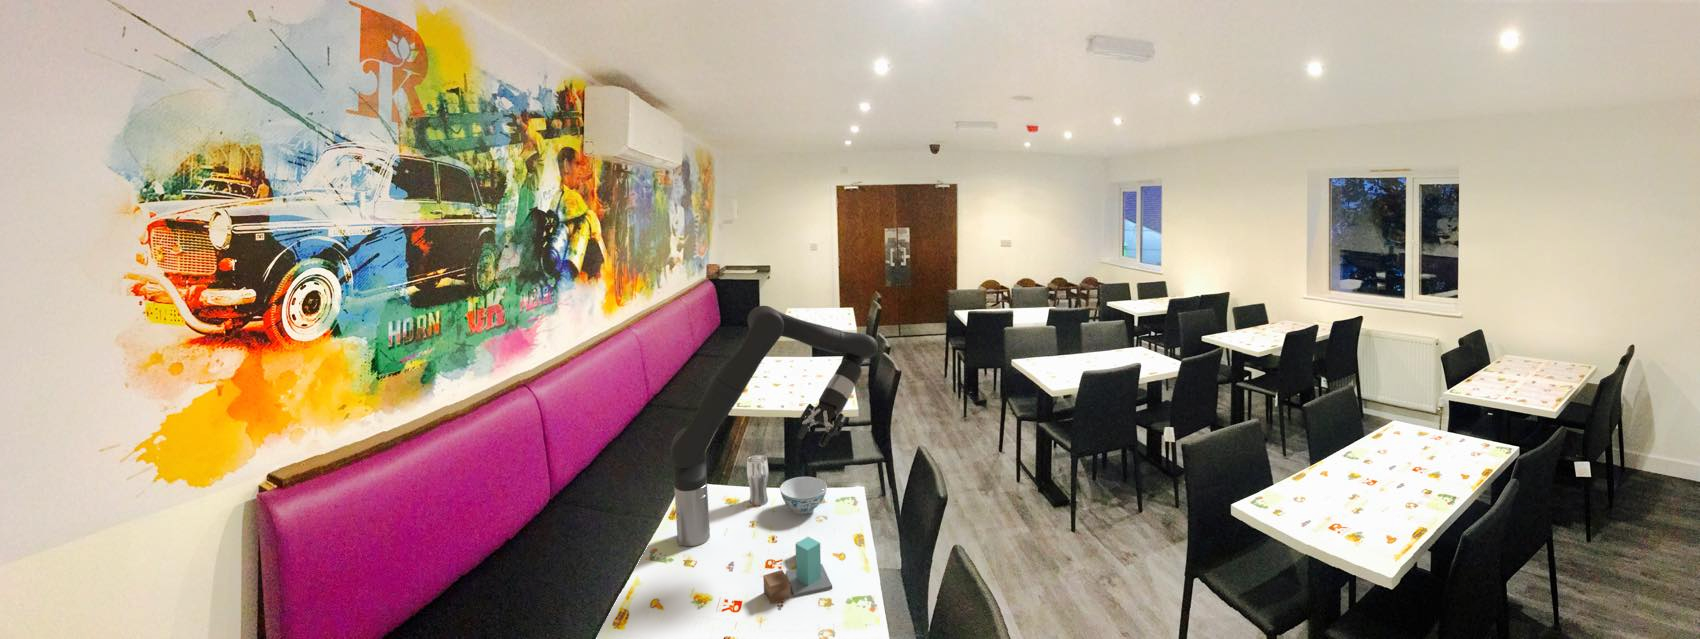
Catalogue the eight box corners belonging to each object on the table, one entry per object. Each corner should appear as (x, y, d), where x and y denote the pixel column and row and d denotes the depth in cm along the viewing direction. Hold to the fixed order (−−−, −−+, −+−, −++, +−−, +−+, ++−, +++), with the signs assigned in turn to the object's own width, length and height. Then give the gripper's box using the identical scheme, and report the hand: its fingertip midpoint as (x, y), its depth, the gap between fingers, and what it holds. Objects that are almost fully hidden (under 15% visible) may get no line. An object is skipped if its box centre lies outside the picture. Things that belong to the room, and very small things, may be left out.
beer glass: (765, 507, 193) (763, 464, 190) (745, 505, 194) (743, 462, 191) (772, 497, 200) (770, 455, 197) (752, 495, 201) (750, 454, 198)
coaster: (794, 596, 148) (794, 593, 148) (785, 573, 158) (785, 571, 158) (832, 588, 152) (832, 585, 151) (821, 566, 161) (821, 563, 161)
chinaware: (825, 521, 184) (825, 498, 183) (777, 521, 184) (777, 498, 183) (828, 498, 199) (828, 476, 197) (783, 497, 199) (783, 476, 198)
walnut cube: (770, 604, 146) (770, 586, 145) (764, 593, 150) (763, 575, 149) (789, 598, 148) (789, 580, 147) (782, 587, 152) (781, 569, 151)
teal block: (808, 585, 151) (807, 550, 150) (796, 578, 154) (795, 543, 153) (820, 577, 155) (820, 542, 153) (808, 570, 158) (808, 536, 156)
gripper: (813, 382, 176) (785, 429, 170) (849, 391, 167) (821, 442, 161) (826, 395, 181) (799, 441, 175) (861, 405, 172) (834, 454, 166)
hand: (810, 441), depth 168 cm, fingers open, 8 cm apart
